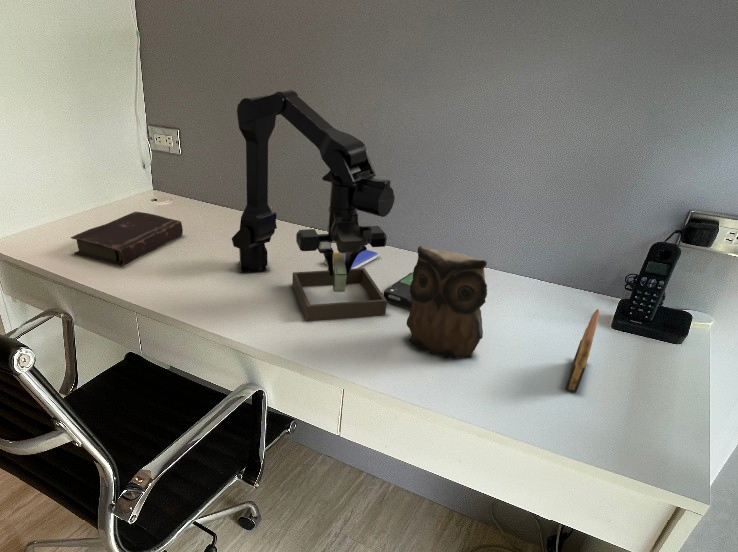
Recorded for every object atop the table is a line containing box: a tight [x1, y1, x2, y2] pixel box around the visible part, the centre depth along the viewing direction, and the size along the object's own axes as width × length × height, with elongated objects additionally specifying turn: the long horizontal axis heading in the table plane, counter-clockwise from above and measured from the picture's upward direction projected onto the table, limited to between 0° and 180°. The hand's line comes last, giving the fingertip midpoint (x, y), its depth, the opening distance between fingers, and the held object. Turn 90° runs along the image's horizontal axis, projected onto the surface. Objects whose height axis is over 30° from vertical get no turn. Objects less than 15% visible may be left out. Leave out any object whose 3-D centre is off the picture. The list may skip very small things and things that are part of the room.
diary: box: [70, 211, 184, 267], centre depth 156 cm, size 19×25×5 cm
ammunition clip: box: [564, 308, 600, 393], centre depth 101 cm, size 11×2×12 cm, turn 149°
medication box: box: [332, 252, 347, 293], centre depth 126 cm, size 12×3×4 cm, turn 177°
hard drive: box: [323, 249, 378, 269], centre depth 148 cm, size 2×8×12 cm
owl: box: [406, 245, 488, 359], centre depth 108 cm, size 13×13×20 cm
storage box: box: [291, 267, 388, 322], centre depth 129 cm, size 18×18×4 cm
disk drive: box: [383, 271, 413, 310], centre depth 131 cm, size 10×3×15 cm
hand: (338, 275), depth 127 cm, fingers closed on medication box, 3 cm apart
